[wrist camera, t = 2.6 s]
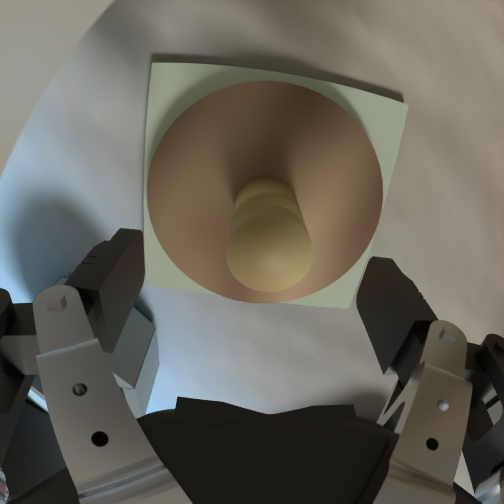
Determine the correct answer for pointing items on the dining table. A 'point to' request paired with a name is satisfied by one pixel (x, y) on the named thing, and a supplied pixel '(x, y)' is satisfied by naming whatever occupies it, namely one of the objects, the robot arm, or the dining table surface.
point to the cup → (129, 361)
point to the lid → (264, 192)
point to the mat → (219, 76)
